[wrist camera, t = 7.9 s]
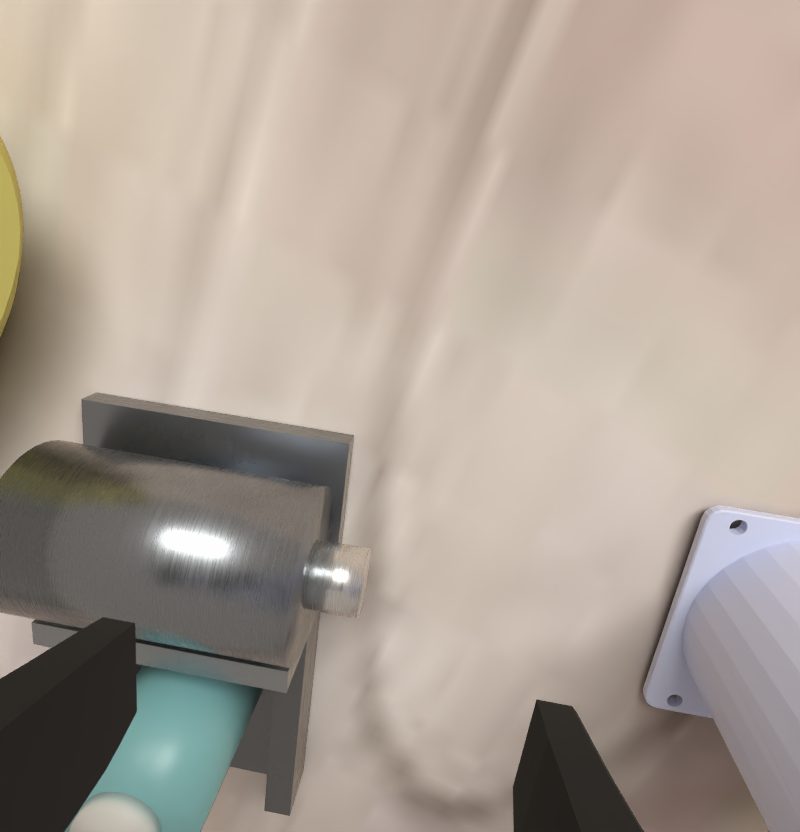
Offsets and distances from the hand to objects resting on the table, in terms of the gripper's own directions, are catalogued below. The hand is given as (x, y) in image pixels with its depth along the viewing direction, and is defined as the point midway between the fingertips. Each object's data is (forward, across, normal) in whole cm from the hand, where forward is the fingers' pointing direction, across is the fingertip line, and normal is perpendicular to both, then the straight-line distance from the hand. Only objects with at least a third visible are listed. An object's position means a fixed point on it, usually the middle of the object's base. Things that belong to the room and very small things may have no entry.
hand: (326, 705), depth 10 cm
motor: (+10, +5, +6) cm, 13 cm away
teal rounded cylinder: (+9, +6, +9) cm, 15 cm away
